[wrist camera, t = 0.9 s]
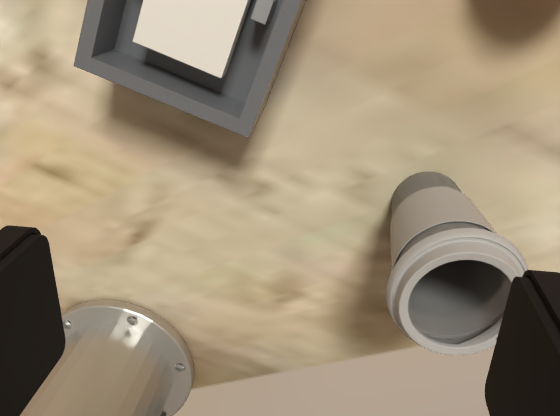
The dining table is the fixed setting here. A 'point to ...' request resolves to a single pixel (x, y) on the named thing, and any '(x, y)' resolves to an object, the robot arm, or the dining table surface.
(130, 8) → the switch box
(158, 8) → the rocker
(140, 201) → the dining table surface
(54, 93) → the dining table surface
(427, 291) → the cup
